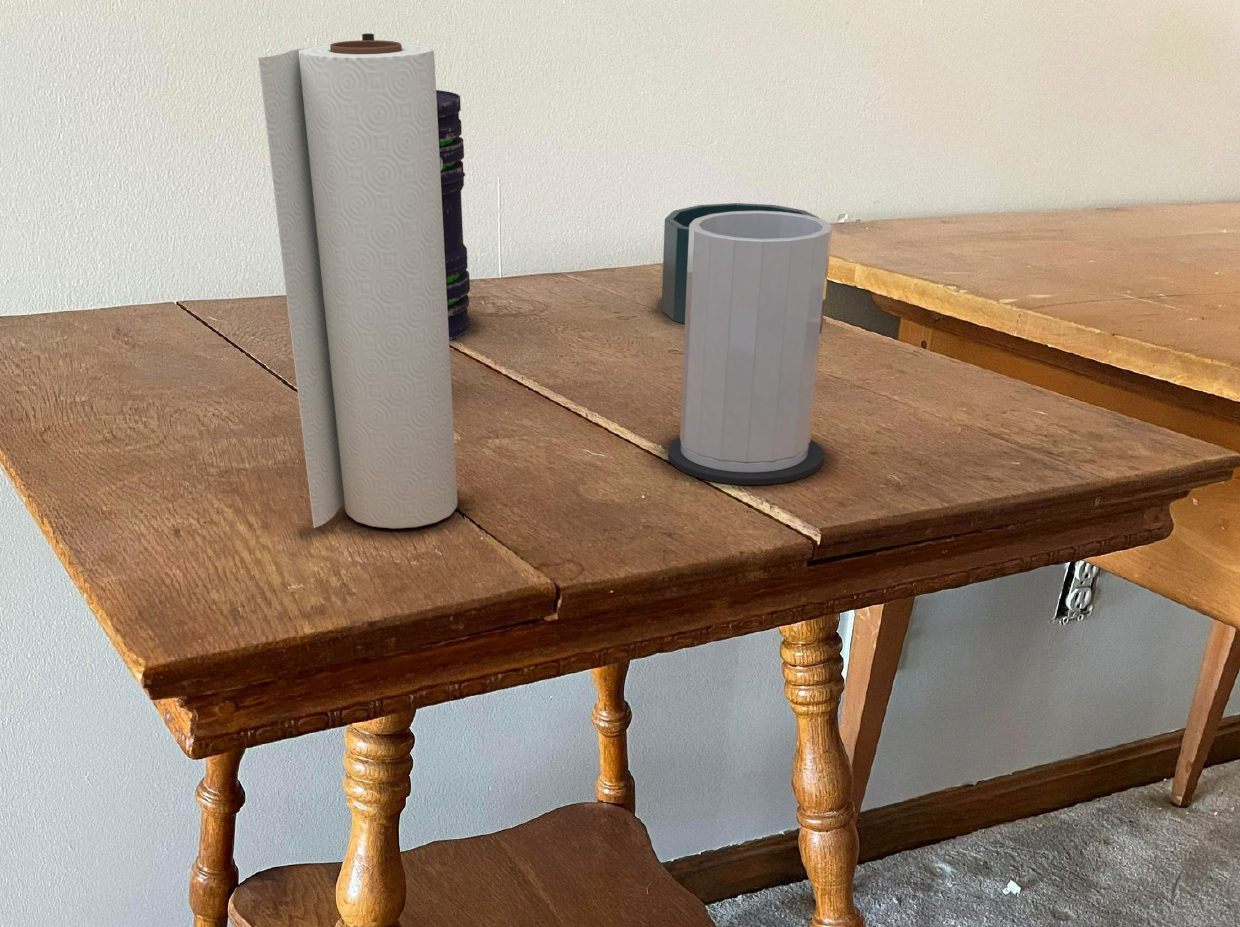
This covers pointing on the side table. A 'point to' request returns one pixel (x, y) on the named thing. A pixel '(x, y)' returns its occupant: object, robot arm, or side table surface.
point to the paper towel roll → (365, 276)
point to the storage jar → (453, 212)
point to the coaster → (762, 478)
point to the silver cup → (752, 338)
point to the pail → (678, 249)
